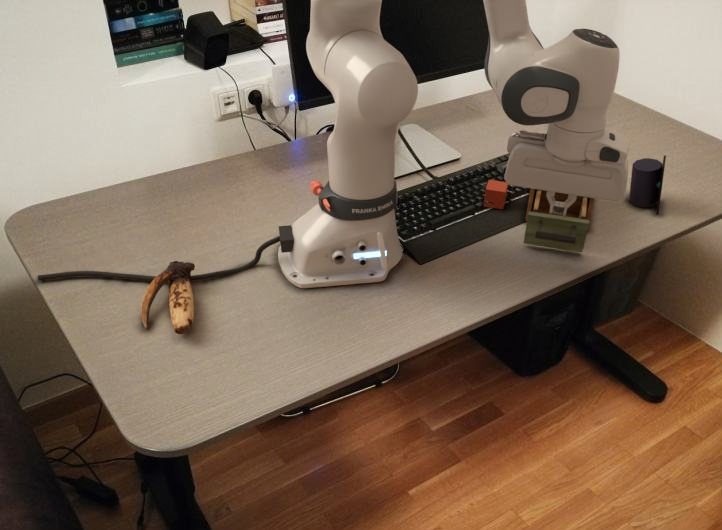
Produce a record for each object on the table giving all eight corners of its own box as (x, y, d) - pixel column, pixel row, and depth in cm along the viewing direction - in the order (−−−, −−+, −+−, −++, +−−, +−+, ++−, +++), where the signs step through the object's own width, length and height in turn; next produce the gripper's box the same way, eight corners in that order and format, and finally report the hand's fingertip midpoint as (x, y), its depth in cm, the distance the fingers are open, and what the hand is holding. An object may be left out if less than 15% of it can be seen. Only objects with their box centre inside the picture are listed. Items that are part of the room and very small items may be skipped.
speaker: (670, 203, 141) (678, 156, 134) (657, 215, 138) (666, 168, 131) (635, 193, 145) (642, 147, 138) (622, 205, 142) (629, 159, 135)
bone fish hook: (143, 282, 118) (142, 349, 105) (135, 259, 115) (134, 325, 102) (198, 273, 120) (204, 337, 107) (192, 250, 116) (198, 314, 103)
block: (503, 209, 138) (505, 192, 135) (483, 206, 138) (485, 189, 136) (505, 199, 141) (508, 182, 138) (486, 197, 141) (488, 179, 139)
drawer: (580, 268, 122) (587, 238, 118) (520, 258, 124) (524, 229, 119) (585, 217, 135) (592, 189, 130) (530, 209, 136) (535, 181, 132)
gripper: (507, 136, 109) (496, 212, 118) (637, 156, 106) (615, 231, 115) (512, 121, 114) (501, 194, 123) (637, 139, 111) (616, 213, 120)
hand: (557, 213), depth 119 cm, fingers closed
